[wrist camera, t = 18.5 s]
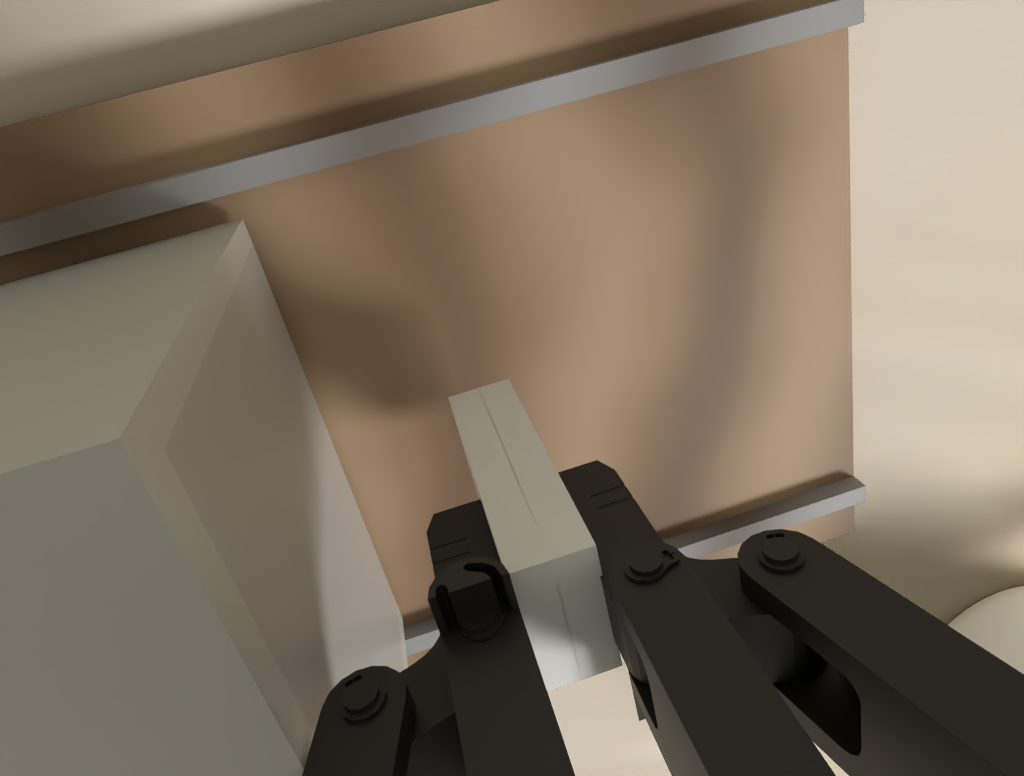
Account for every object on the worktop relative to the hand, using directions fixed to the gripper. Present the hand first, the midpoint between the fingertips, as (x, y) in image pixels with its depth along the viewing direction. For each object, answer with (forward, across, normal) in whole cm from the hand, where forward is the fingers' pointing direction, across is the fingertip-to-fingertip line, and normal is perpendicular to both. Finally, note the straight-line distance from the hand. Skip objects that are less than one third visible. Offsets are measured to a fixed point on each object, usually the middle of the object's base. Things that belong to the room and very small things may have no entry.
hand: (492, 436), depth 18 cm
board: (+3, -1, 0) cm, 3 cm away
